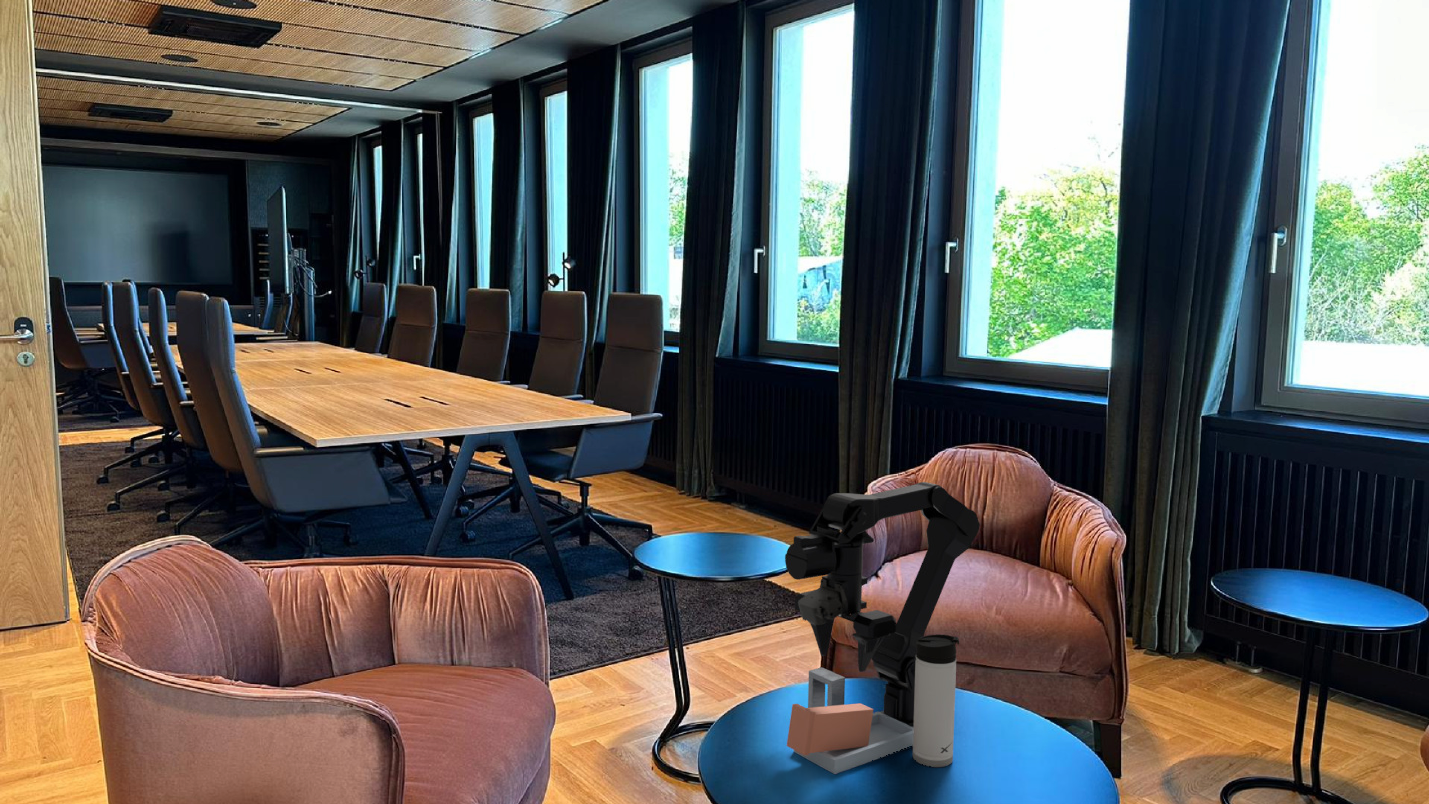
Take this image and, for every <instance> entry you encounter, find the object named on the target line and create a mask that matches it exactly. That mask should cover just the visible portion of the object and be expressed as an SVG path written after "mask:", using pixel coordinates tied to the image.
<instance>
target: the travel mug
mask: <svg viewBox="0 0 1429 804" xmlns="http://www.w3.org/2000/svg"><path fill="white" fill-rule="evenodd" d="M959 644H960V639H959V637H958V636H952V635H949V634H940V633H939V634H928V635H924V637H921V638H919V639H918V641H917V644H916V650H917V651H916V663H915V695H914V725H913V727H914V728H913V746H912V758H913V760H914V761H915V760H916V761H915V762H916V763H919V764H921V765H922V764H923V766H925V765H926V767H929V766H931V767H930V768H944V767H947V766H949V765H950V764H952V762H954V761H953V760H954V735H955V733H954V732H955V706H956V705H955V704H956V680H957V679H956V676H957V673H956V672H957V647H956V645H959Z"/></svg>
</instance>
